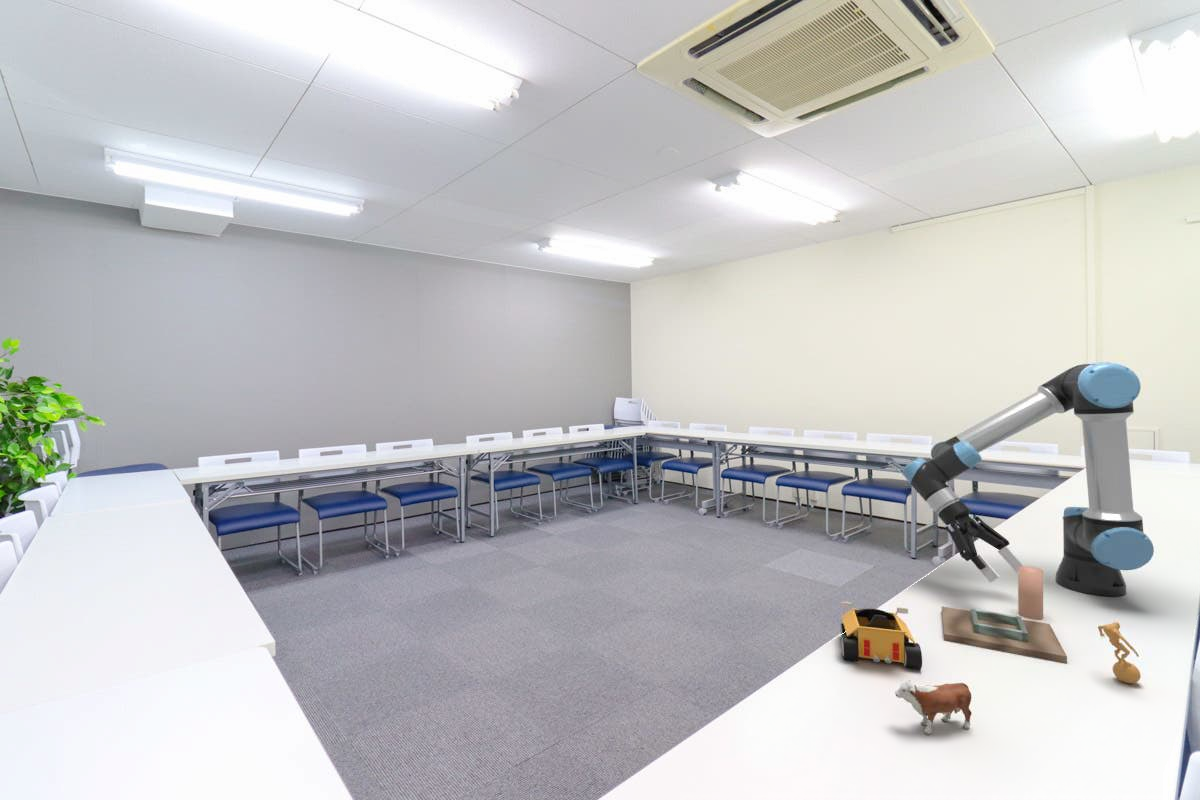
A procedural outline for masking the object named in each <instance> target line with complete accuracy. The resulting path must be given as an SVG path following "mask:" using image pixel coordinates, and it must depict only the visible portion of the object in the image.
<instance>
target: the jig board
mask: <svg viewBox="0 0 1200 800" xmlns="http://www.w3.org/2000/svg"><path fill="white" fill-rule="evenodd" d="M941 617H942V628H943V640H944V641H946V642H947V641H948V642H951V643H957V644H963V645H967V646H973V647H979V648H983V649H989V650H995V651H1000V652H1005V653H1010V654H1014V655H1015V654H1017V655H1021V656H1025V657H1031V658H1035V659H1041V660H1047V661H1054V662H1058V663H1062V664H1063V663H1064V664H1068V655H1067V653H1066V651H1065V650H1064V648H1063V646H1062V645H1061V644H1062V643H1061V642H1060V641H1059V638H1058V636H1057V634H1056V633H1055V631H1054V630H1053V627H1052V626H1051V623H1049V622H1048V623H1046V622H1041V621H1036V620H1031V619H1028V620H1027V619H1023V617H1022V616H1020V615H1019V616H1018V615H1012V614H1006V613H1000V612H994V611H989V610H981V609H976V608H975V609H974V608H970V610H968V609H962V608H954V607H949V606H941Z"/></svg>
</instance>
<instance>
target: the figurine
mask: <svg viewBox="0 0 1200 800" xmlns="http://www.w3.org/2000/svg"><path fill="white" fill-rule="evenodd" d="M1120 628H1121V626H1120V623H1119V622H1118V621H1114V622H1113V623H1110V624H1104V625H1099V626H1097V629H1098V631H1099V635H1100V637H1101V638H1104V637H1105V636H1107V637H1108V639H1109V640H1108V641H1109V643H1111V645H1112V646H1113V647H1114V648H1115V649H1114V656H1115V657H1116V659H1117V660H1118V661H1116V662H1115V663H1114V664H1113V665H1112V672H1113V675H1114V676H1115V677H1116V678H1117V679H1118V680H1119V681H1121V682H1123V683H1126V684H1136V683H1138V682H1139V681H1140V680H1141V677H1142V676H1141V671H1140V670H1139V668H1138V667H1137V666H1136V665H1134V664H1133V663H1131V662H1129V661H1127V660H1126V658H1127V657H1128V656H1129V655H1130V653H1131V652H1130V650H1131V651H1132V652H1134V654H1135V655H1136V657H1137V658H1138V657H1140V656H1139V653H1138V651H1136V650H1135V648H1134V647H1133V645H1131V644H1130V642H1128V641H1127V640H1126V638H1125V637H1124V636H1123V635H1122V633H1121V632H1120V630H1119V629H1120ZM1103 632H1104V633H1103ZM1120 640H1121V641H1123V642H1124V643H1125V645H1126V646H1127V647H1128V648H1129V649H1130V650H1129V649H1128V648H1127V647H1126V646H1125V645H1124V644H1123V643H1122V642H1120ZM1121 651H1122V652H1123V653H1122V654H1121V655H1120V656H1121V657H1120V656H1119V654H1120V652H1121Z"/></svg>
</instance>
